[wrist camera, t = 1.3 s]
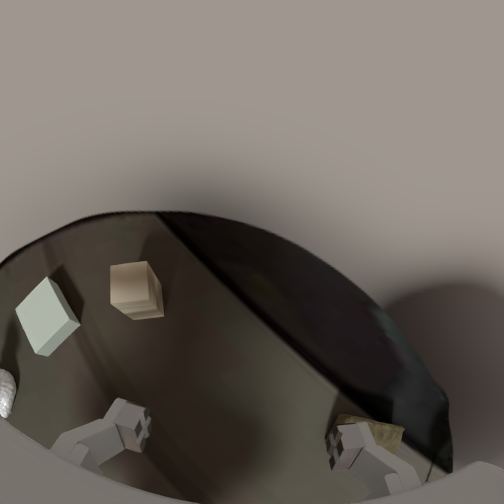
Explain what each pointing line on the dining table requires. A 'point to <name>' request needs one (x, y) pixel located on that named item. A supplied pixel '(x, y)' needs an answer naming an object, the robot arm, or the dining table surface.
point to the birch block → (136, 290)
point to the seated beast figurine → (6, 392)
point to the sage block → (46, 317)
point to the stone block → (376, 431)
